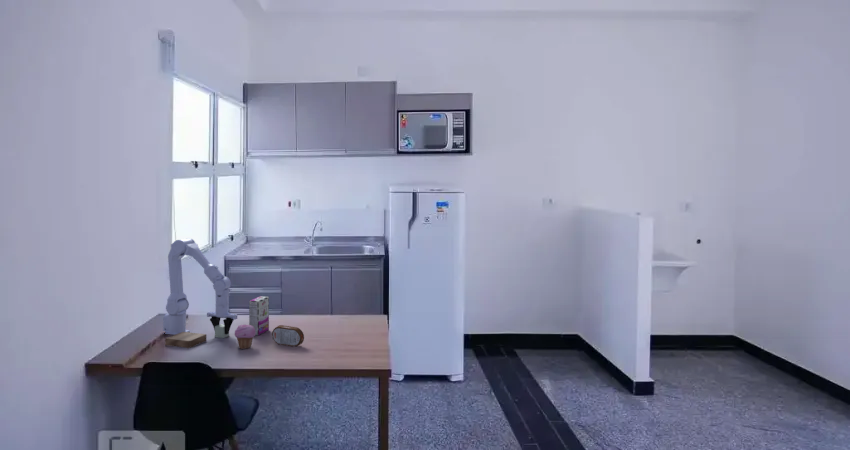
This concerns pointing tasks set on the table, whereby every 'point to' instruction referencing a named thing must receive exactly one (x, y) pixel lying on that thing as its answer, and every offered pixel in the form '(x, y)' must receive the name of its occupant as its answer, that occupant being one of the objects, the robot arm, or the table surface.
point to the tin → (288, 335)
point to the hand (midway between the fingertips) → (221, 333)
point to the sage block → (220, 331)
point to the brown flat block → (185, 339)
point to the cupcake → (245, 335)
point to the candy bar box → (259, 314)
